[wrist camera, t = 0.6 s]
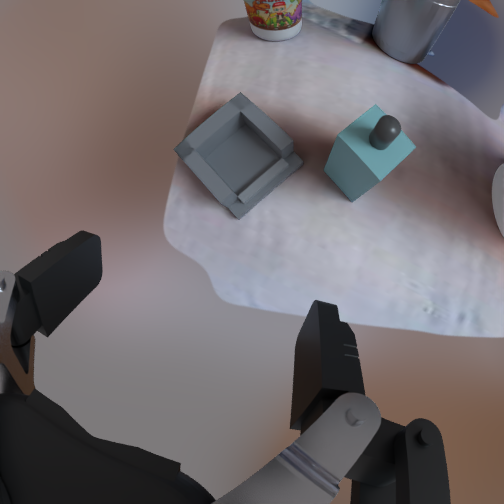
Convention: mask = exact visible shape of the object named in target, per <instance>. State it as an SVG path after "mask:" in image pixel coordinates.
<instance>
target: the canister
mask: <svg viewBox="0 0 504 504" xmlns="http://www.w3.org/2000/svg"><path fill="white" fill-rule="evenodd" d="M492 204H493V210H494V215H495V219H496V222H497V225H498V227H499V230H500V232H501V234H502V236H503V237H504V164H502V165H500V166H499V167H498V169H497V170H496V172H495V175H494V178H493V183H492Z"/></svg>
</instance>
